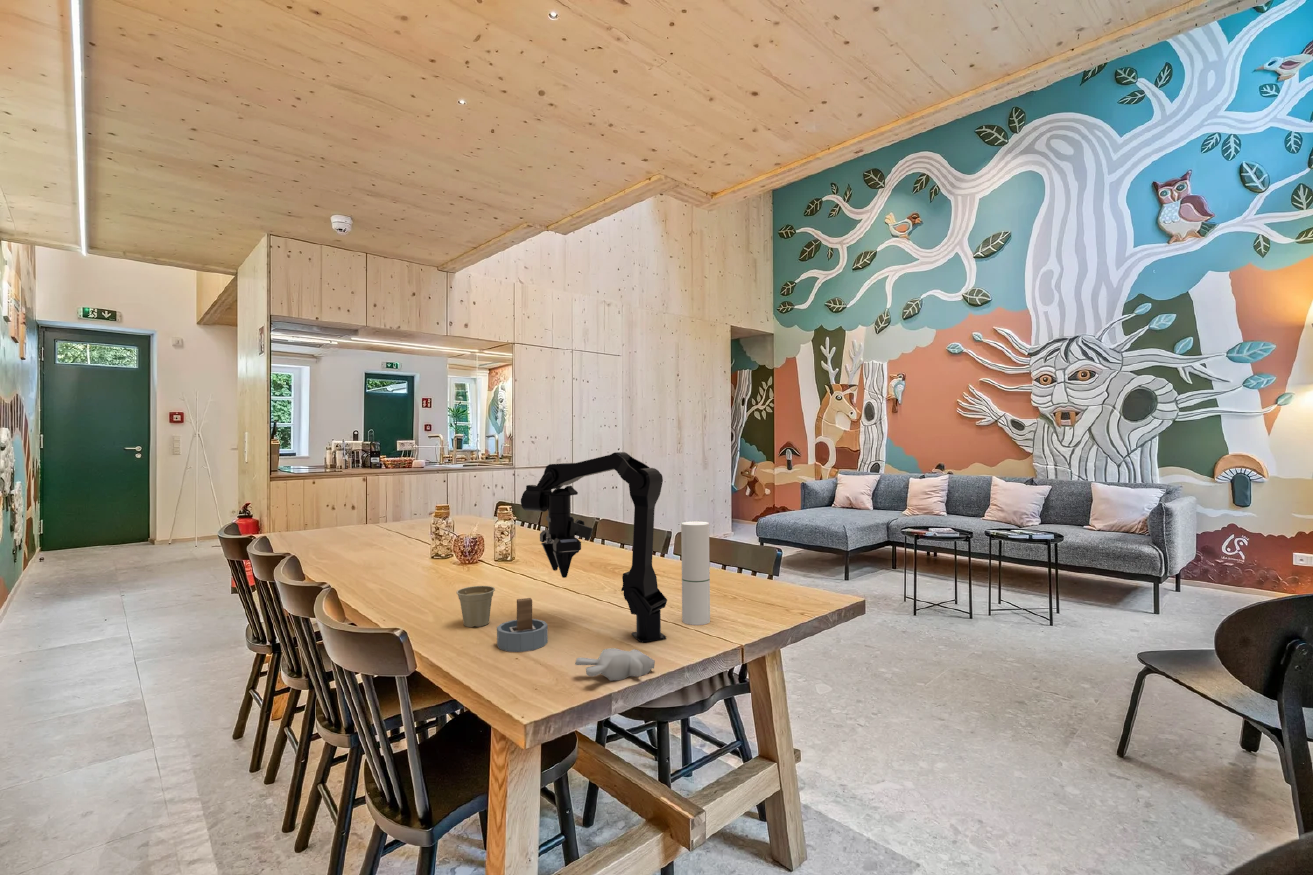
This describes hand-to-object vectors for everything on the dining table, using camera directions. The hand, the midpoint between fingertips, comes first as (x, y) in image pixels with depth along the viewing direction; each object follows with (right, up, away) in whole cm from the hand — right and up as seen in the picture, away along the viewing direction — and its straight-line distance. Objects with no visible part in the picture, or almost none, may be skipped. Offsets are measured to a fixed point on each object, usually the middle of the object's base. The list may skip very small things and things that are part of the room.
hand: (559, 573), depth 155 cm
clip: (-6, -13, -15) cm, 21 cm away
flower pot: (-21, -13, 0) cm, 25 cm away
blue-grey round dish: (-6, -13, -15) cm, 21 cm away
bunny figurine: (+17, -13, -35) cm, 41 cm away
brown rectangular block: (-6, -12, -15) cm, 20 cm away
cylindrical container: (+35, -12, +1) cm, 37 cm away
